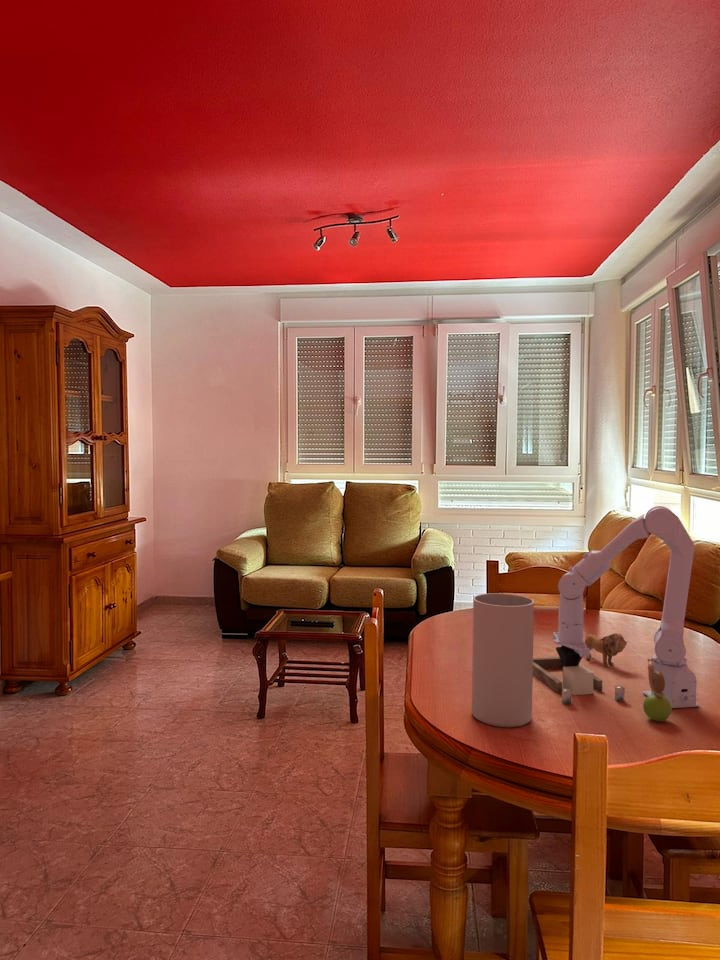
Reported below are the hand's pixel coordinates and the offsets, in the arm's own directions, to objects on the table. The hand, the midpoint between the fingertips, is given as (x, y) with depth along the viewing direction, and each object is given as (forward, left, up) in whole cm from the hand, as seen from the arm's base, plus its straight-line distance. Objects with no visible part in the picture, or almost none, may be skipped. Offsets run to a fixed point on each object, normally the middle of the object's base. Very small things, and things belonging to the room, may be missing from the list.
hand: (569, 677), depth 155 cm
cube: (-4, 0, -2) cm, 4 cm away
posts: (-11, 0, -2) cm, 11 cm away
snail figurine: (-22, -8, -2) cm, 24 cm away
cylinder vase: (-16, +24, -2) cm, 29 cm away
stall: (+3, 0, -2) cm, 4 cm away
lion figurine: (+15, -18, -2) cm, 23 cm away
